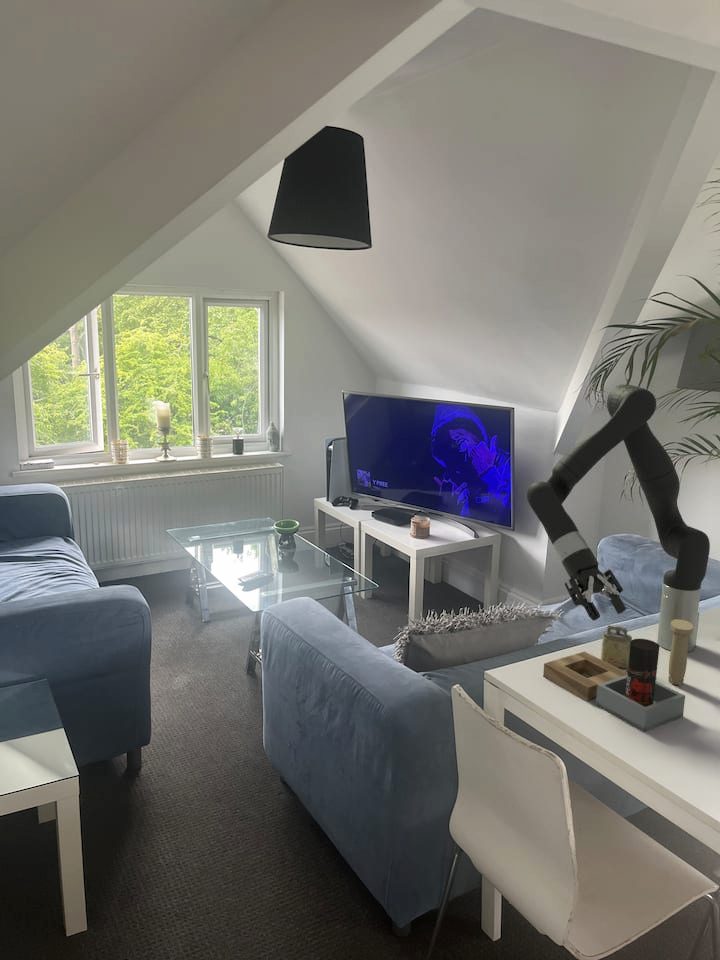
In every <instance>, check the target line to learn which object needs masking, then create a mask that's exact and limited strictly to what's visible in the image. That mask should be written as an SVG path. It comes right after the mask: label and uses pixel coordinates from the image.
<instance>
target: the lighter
mask: <svg viewBox="0 0 720 960" xmlns="http://www.w3.org/2000/svg"><path fill="white" fill-rule="evenodd" d="M612 630H614V631H612ZM622 632H623V633H622ZM602 635H603V636H602V641H601V653H600V654H601V655H600V659H601V660H603V661H605V662H607V663H609V664H611V665H613V666H615V667H617V668H619V669H621V668H622V669H628V663H629V653H630V643H631V640H633V636H632V635H630V634H628V630H627V628H625V627H622V626H621V625H616V626H613V625H607V629H606V631H603V634H602Z"/></svg>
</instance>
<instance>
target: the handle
mask: <svg viewBox="0 0 720 960" xmlns="http://www.w3.org/2000/svg"><path fill="white" fill-rule="evenodd" d="M670 628H671V630H672V631H673V632H674V634H673V641H672V647H671V650H670V652H669V653H670V654H669V658H668V682H669V683H671V684H672V685H673V684H674V685H676V686H681V685H682V684H683V683H684V680H685V679H684V678H685V676H686V675H685V674H686V671H687V665H688V664H687V663H688V652H687V649H688V635H689V634H692V632H693V624H691V623H690V622H689V621H685V620H679V619H675V620H672V621H671V626H670ZM674 685H673V686H674Z"/></svg>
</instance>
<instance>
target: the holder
mask: <svg viewBox="0 0 720 960" xmlns="http://www.w3.org/2000/svg"><path fill="white" fill-rule="evenodd" d="M583 673H585V674H587V675H588V676H590V677H587V676H584V675H582V674H583ZM627 673H628V671H625V670H623V669H621V668H620V667H615V666H613V665H611V664H609V663H607V662H605V661H603V660H601V658H599V657H597V656H595V655H593V654H591V653H589V652H586V651H581V652H578V653H575V654H571V655H568V656H565V657H560V658H558V659H555V660H552V661H548V662H545V663H543V675H542V676H543V677H544V678H545V679H546V680H549V681H550V682H552V683H554V684H555V685H557V686H559V687H560V688H563V689H565V690H566V691H567V692H569V693H572V694H573V695H574V696H577V697H579V698H580V699H582V700H584V701H586V702H589V701H593V700H596V696H597V685H598V684H601V683H604V682H607V681H610V680H613V679H616V678H619V677H622V676H625V675H627Z"/></svg>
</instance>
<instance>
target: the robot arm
mask: <svg viewBox="0 0 720 960" xmlns="http://www.w3.org/2000/svg"><path fill="white" fill-rule="evenodd" d="M606 407H607V411H608V413H609V416H610V418H609V420H608V421H607V422H605V424H603V426H601V427H600V428H599V429H597V430H596V431H595V432H593V433H591V434H590V435H589V436H587V437H585V438H584V439H582V440H580V441H579V442H577V443H576V444H575V445H573V446H572V447H571V448H570V449H569V450H568V451H567V452H566V453H565V454H564V455H563V457H561V458H560V459H559V461H557V463H556V464H555V465H554V467H553V468H552V471H551V472H552V474H551V475H550V477H549V478H548V480H546V482H545V481H542V480H540V481H539V480H538V481H535V482H534V483H532V484H530V485H529V487H528V488H527V491H526V500H527V503H528V504H529V506H530V508H531V509H532V512H533V513H534V514H535V515H536V518H537V519H538V520H539V522H540V523H541V524H542V526H543V528H544V531H545V533H546V535H547V536H548V539H549V540H550V542H551V545H552V546H553V548H554V550H555V553H556V556H557V557H558V559H559V560H560V563H561V564H562V566H563V568H564V570H565V571H566V573H567V575H568V576H569V579H568V580H567V581H566V582H564V586H565V588H566V590H567V592H568V595H569V596H570V598H571V600H572V603H573V604H574V606H576V607H578V606H581V607H583V608H584V610H585V612H586V613H587V615H588V617H589V618H590V619H591V620H592V621H596V620H598V619H600V617H601V614H600V612H599V611H598V609H597V607H596V606H595V603H594V602H593V601H592V596H593V594H598V593H599V594H600V595H603V596H605V597H607V598H609V601H610V602H611V604H612V607H613V608H614V610H615V611H616V613H617V614H618V615H620V614H623V613H625V612H626V606H625V603H624V602H623V600H622V599H621V597H620V594H621V593H622V592H623V591H624V589H623V587H622V585H621V583H620V582H619V580H618V579H617V577H616V576H615V575H614V573H613V572H612V570H611V569H607V570H606V571H604V572H602V571H600V569H599V564H600V563H599V562H598V559H597V558H596V556H595V554H594V553H593V551H592V549H591V548H590V546H589V544H588V543H587V540H586V539H585V538H584V536H583V535H582V534H581V532H580V531H579V529H578V527H577V526H576V523H575V522H574V521H573V519H572V518H571V516H570V515H569V514H568V512H567V511H566V510H565V508H564V505H563V504H564V502H565V501H566V499H567V498H568V496H569V495H570V493H572V490H573V489H574V487H575V486H576V485H577V484H578V483H580V481H581V480H582V479H583V478H584V477H585V476H586V475H587V474H588V472H589V471H591V470H592V468H593V467H594V466H595V465H597V464H598V462H599V461H600V460H602V459H603V457H604V456H606V455H607V454H609V452H610V451H611V450H613V449H614V448H616V447H617V446H618V445H619V444H620V443H622V441H623V443H624V445H625V448H626V450H627V454H628V456H629V459H630V461H631V464H632V466H633V470H634V472H635V475H636V478H637V481H638V482H639V485H640V489H641V490H642V493H643V494H644V496H645V499H646V502H647V504H648V507H649V510H650V512H651V514H652V518H653V521H654V524H655V527H656V531H657V536H658V539H659V543H660V546H661V548H662V550H663V551H664V553H665V554H667V555H668V556H670V557H672V558H674V559H676V563H675V564H676V566H675V569H669V570H667V571H666V572H665V573H664V575H663V582H662V589H661V590H662V591H661V599H660V609H659V610H660V611H659V621H658V627H657V628H658V631H657V640H656V643H657V644H658V645H659V647H661V648H664V649H666V650H668V651H671V647H672V641H673V634H674V632H673V631H672V630H671V628H670V626H671V621H672V620H675V619H679V620H685V621H689V622H690V623H691V624H693V632H692V634H689V635H688V649H687V653H688V652H691V651H693V650H694V649H695V646H696V645H697V639H698V629H699V620H700V612H699V607H700V595H701V587H702V583H703V581H704V579H705V577H706V574H707V568H708V563H709V557H710V552H711V551H710V549H711V542H710V538H709V537H708V534H706V532H705V531H702V530H700V529H698V528H695V527H693V526H690V525H688V524H686V522H685V521H684V519H683V517H682V514H681V511H680V510H679V506H678V498H679V494H680V487H681V485H680V484H681V483H680V479H679V475H678V473H677V471H676V467H675V465H674V463H673V460H672V457H670V455H669V453H668V451H667V450H666V449H665V448H664V446H663V445H662V444H661V442H660V441H659V440H658V438H657V437H656V436H655V435H654V433H653V431H652V430H651V428H650V426H649V424H648V421H649V420H651V418H652V417H653V415H654V414H655V412H656V409H657V399H656V396H655V395H654V393H652V392H651V391H650V390H648V389H646V388H644V387H639V386H635V385H631V384H619V385H616V386H615V387H613V388H612V389H611V390H610V392H609V393H608V396H607V399H606Z"/></svg>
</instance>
